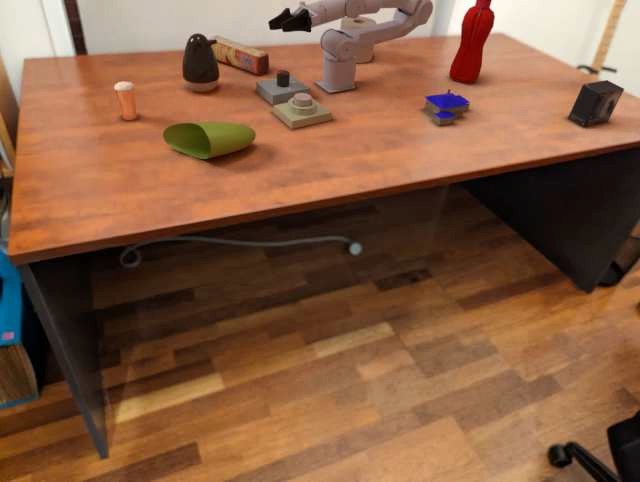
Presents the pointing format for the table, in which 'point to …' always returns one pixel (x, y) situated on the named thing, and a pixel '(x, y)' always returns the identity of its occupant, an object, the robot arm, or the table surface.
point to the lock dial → (283, 78)
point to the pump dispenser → (200, 64)
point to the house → (445, 107)
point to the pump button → (302, 100)
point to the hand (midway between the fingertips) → (275, 26)
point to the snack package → (240, 55)
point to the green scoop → (208, 138)
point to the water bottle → (472, 42)
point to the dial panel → (280, 90)
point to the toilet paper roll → (357, 23)
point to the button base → (301, 113)
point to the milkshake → (126, 99)
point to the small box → (595, 103)
